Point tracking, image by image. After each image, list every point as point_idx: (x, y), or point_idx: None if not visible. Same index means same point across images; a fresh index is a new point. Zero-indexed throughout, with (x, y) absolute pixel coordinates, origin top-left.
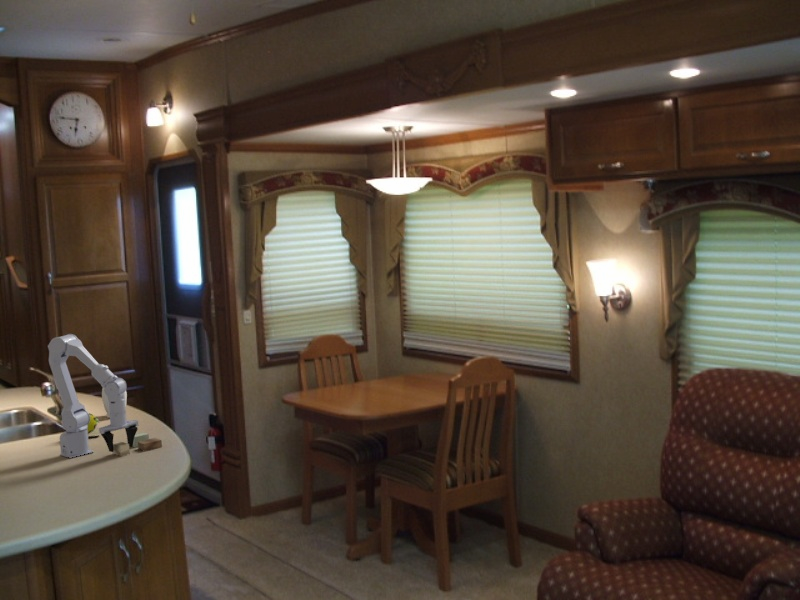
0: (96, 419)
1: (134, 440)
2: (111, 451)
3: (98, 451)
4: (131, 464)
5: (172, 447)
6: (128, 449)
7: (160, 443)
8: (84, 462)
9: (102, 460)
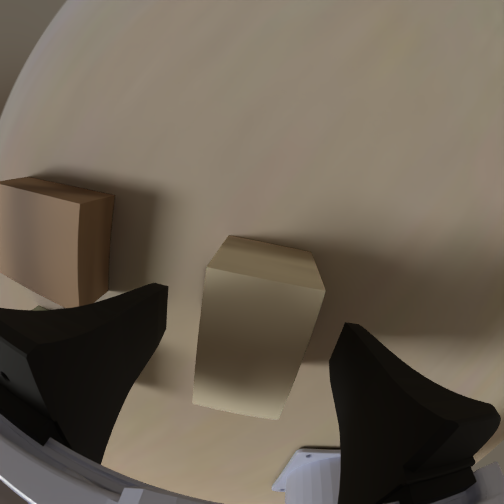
0: None
1: None
2: (361, 328)
3: (268, 446)
4: (418, 12)
5: (19, 111)
6: (229, 249)
7: (14, 180)
8: (467, 351)
9: (431, 295)
